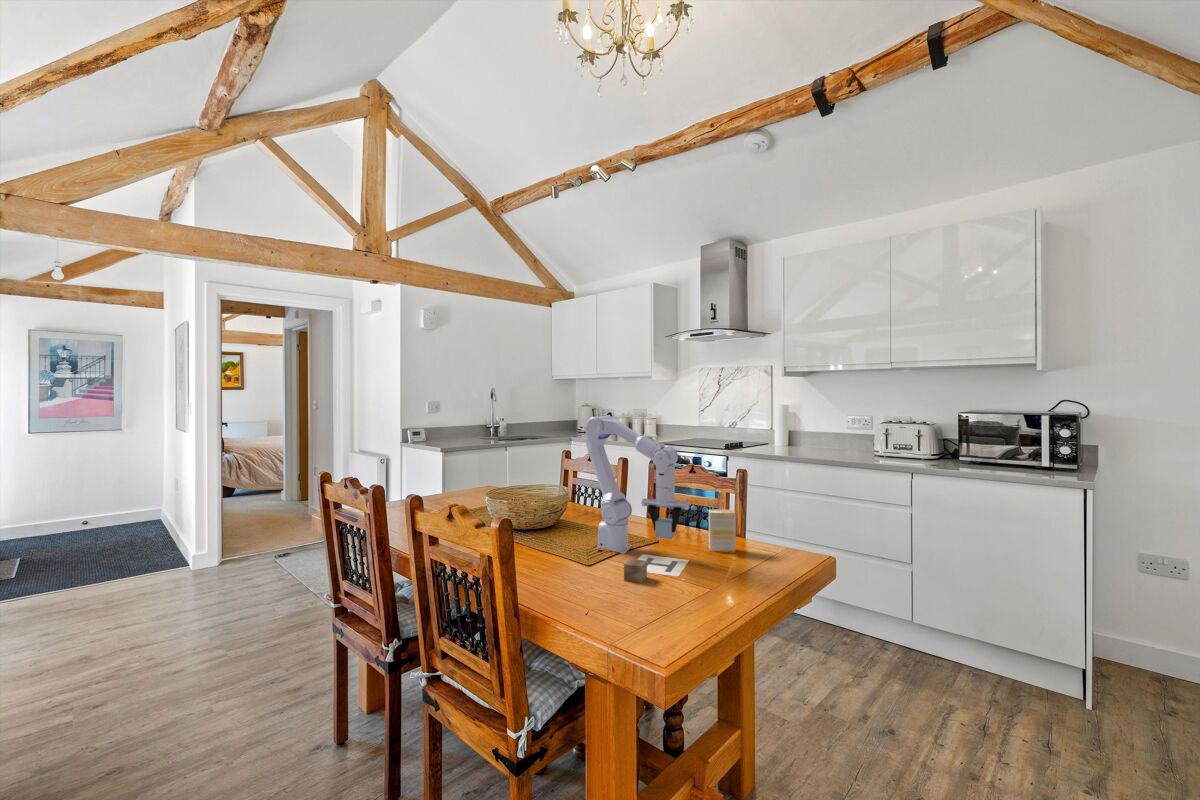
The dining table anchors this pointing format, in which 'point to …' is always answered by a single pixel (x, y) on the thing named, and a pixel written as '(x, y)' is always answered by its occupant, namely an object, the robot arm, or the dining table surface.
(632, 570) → the walnut block
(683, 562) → the letter board
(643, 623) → the dining table surface
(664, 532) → the slate blue cube
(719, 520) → the supplement box
